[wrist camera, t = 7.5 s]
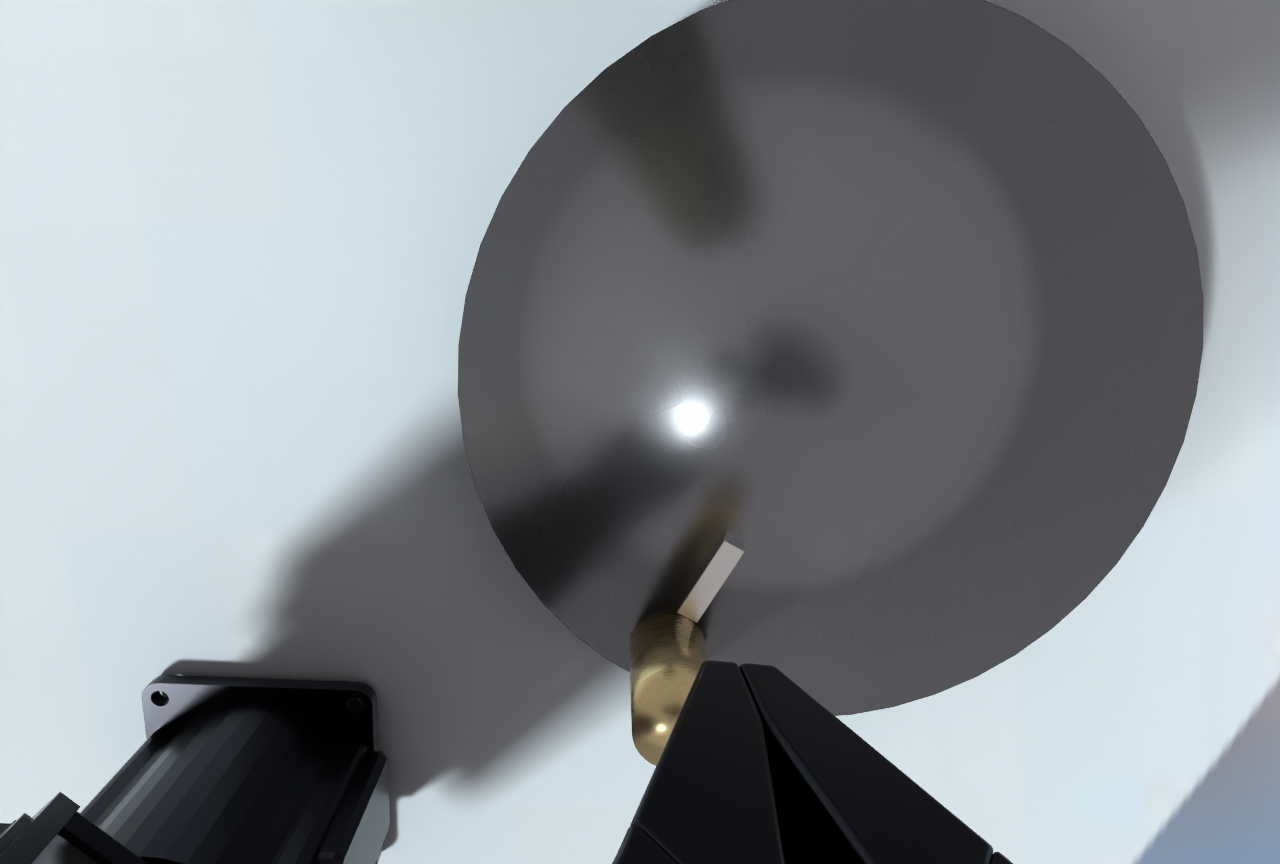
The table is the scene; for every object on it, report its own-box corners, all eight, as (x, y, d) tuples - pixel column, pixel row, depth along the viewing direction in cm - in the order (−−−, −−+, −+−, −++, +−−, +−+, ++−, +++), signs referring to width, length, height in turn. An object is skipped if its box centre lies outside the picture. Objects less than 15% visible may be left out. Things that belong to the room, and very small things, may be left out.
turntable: (343, 511, 20) (268, 589, 15) (709, -190, 16) (743, -343, 12) (903, 793, 22) (970, 925, 18) (1325, 257, 19) (1535, 266, 14)
